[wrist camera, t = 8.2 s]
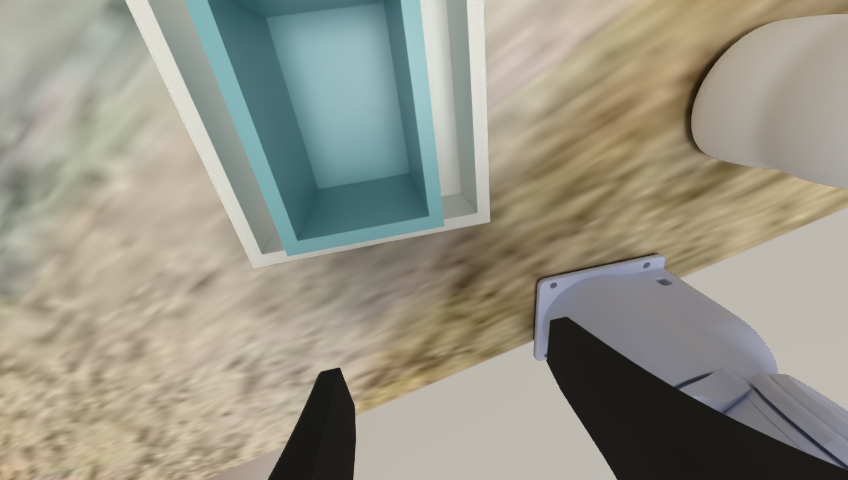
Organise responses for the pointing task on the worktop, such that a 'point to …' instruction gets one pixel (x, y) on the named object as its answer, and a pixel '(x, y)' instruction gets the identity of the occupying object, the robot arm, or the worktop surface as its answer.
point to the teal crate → (329, 113)
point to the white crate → (226, 158)
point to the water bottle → (781, 100)
